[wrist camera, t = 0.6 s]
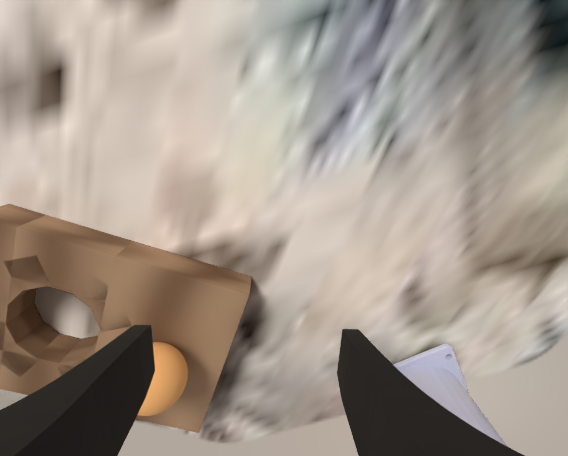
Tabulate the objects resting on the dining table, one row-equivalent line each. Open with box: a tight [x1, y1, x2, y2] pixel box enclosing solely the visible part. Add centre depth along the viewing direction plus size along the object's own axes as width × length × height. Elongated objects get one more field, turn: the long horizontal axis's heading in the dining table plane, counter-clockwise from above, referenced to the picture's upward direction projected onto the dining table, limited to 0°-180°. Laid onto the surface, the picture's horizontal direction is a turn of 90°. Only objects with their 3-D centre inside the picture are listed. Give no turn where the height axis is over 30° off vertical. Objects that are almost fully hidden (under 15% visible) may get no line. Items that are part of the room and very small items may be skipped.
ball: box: [138, 342, 188, 416], centre depth 19 cm, size 4×4×4 cm
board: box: [0, 204, 251, 433], centre depth 22 cm, size 16×12×2 cm
